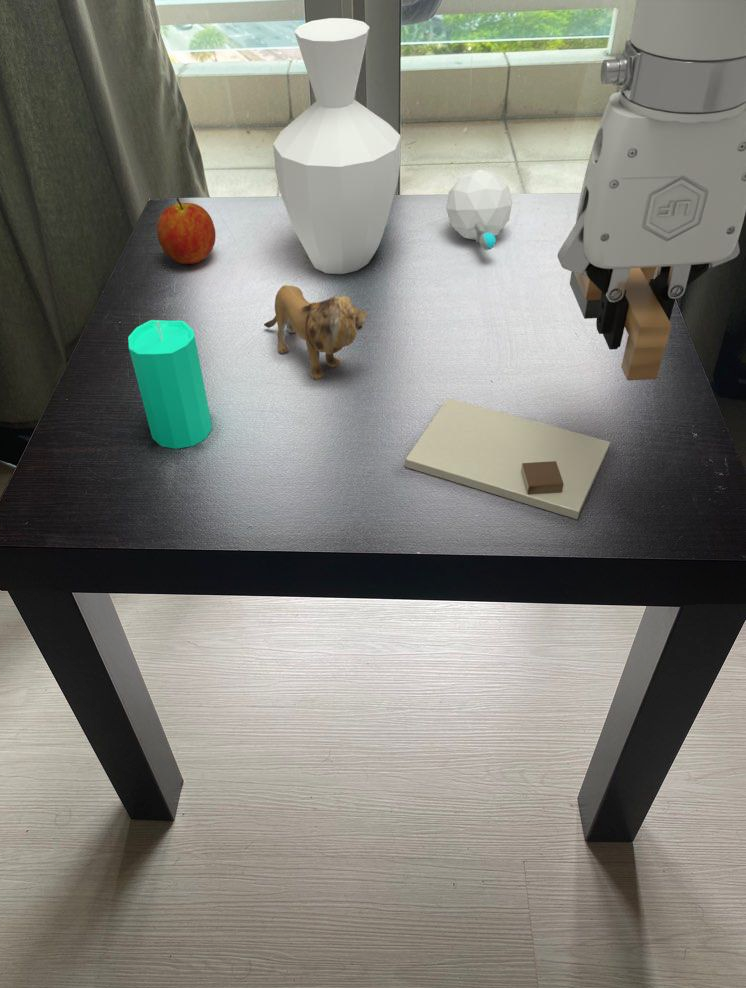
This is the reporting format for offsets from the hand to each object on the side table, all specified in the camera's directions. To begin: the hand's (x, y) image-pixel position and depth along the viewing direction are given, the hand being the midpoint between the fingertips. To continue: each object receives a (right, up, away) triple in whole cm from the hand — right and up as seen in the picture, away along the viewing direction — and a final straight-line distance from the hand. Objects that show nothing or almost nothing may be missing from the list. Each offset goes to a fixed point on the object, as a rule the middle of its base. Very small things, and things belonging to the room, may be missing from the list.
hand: (628, 336), depth 64 cm
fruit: (-41, +19, +41) cm, 61 cm away
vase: (-22, +19, +40) cm, 49 cm away
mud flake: (-4, -10, +9) cm, 15 cm away
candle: (-37, -5, +18) cm, 42 cm away
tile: (-7, -8, +13) cm, 17 cm away
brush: (0, +1, +3) cm, 3 cm away
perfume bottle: (-5, +21, +41) cm, 47 cm away
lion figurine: (-25, +4, +26) cm, 36 cm away
